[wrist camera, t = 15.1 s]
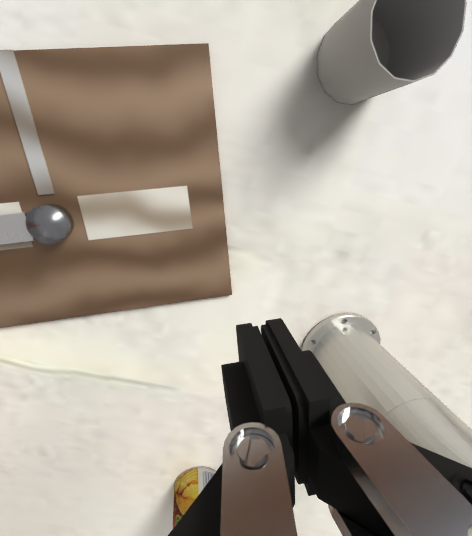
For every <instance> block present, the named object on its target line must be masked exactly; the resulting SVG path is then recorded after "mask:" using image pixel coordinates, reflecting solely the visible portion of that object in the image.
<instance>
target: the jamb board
mask: <svg viewBox="0 0 472 536" xmlns="http://www.w3.org/2000/svg"><path fill="white" fill-rule="evenodd" d="M45 204H56V205H59V206H61V207H63V208H65V209H66V210H67V211H68V212H69V213H70V215H71V216H72V219H73V223H74V227H73V230H72V232H71V234H70V235H69V236H68V237H66V238H65V239H63V240H61V241H60V242H57V243H54V244H46V243H42V242H40V241H38V240H34V241H26V242H18V243H10V244H2V245H0V328H3V327H10V326H17V325H24V324H31V323H38V322H45V321H52V320H59V319H66V318H73V317H80V316H87V315H94V314H101V313H108V312H115V311H122V310H129V309H136V308H143V307H150V306H157V305H164V304H171V303H178V302H185V301H192V300H198V299H205V298H212V297H219V296H226V295H232V289H231V278H230V268H229V257H228V247H227V236H226V226H225V215H224V204H223V194H222V183H221V173H220V162H219V152H218V141H217V130H216V120H215V109H214V99H213V88H212V78H211V67H210V56H209V46H208V43H207V44H180V45H153V46H126V47H99V48H72V49H45V50H18V51H13V50H0V214H9V213H18V212H27V211H29V212H30V211H31V210H32V209H33V208H35V207H39V206H42V205H45Z"/></svg>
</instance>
